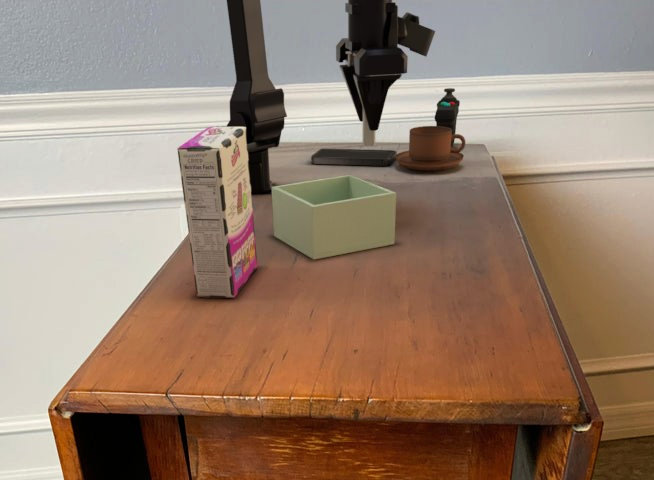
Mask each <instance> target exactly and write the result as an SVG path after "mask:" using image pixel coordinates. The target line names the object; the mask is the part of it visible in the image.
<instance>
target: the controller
mask: <svg viewBox="0 0 654 480" xmlns="http://www.w3.org/2000/svg"><path fill="white" fill-rule="evenodd" d="M455 91H456V89H455V88H451V87H448V88H444V89H443V92H444V93H446V94H445V95H444V96H443V97H442V98H441V99H440V100H439V101H438V102H437V103H436V111H435V115H434V121H435V122H436V124H435V126H442V127H448V128H451V129H452V135H454V134H456V132H457V131H456V129H457V119H458V114H459V111H460V109H459V108H460V106H461V105H460V104H461V103H460V102H461V101H460V100H459V99H458V98H457V97H456V96H455V95H454V94H453V93H455ZM455 140H456V138H455V139H453V140H451V147H452V148H453V147H454V146H455Z"/></svg>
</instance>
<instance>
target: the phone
mask: <svg viewBox="0 0 654 480" xmlns="http://www.w3.org/2000/svg"><path fill="white" fill-rule="evenodd" d="M397 154H398V151H397V150H393V149H358V148H357V149H354V148H320V149H318V150H317V151H316V152H315V153H313V154H312V155H311V156H310V157H311V159H310V160H311V164H315V165H345V166H346V165H347V166H351V165H352V166H377V167H386V166H390V165H392V164H393V163H394V162H395V161H396V158H395V156H396V155H397Z"/></svg>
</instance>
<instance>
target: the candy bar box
mask: <svg viewBox="0 0 654 480" xmlns="http://www.w3.org/2000/svg"><path fill="white" fill-rule="evenodd" d="M176 149H177V157H178V163H179V169H180V170H179V173H180V180H181V187H182V195H183V202H184V203H183V204H184V209H185V216H186V224H187V230H188V231H187V233H188V239H189V246H190V253H191V261H192V262H191V263H192V270H193V278H194V286H195V292H196V296H197V297H199V298H206V299H207V298H214V299H215V298H216V299H235V298H236V297H237V295H238V294H239V292H240V291H241V290H242V289H243V287H244V286H245V284H246V283H247V281H248V280H249V278H250V277H251V276H252V274H254V272H255V270H256V269H257V268H258V256H257V246H256V244H257V243H256V234H255V233H256V232H255V223H254V221H255V220H254V210H253V209H254V208H253V199H252V198H253V197H252V193H251V183H250V172H249V159H248V148H247V136H246V127H237V126H233V127H230V126H227V125H226V126H217V125H216V126H209V127H206V128H205V129H203V130H201V132H199V133H197V134H196V135H194V136H193V137H191V138H190V139H188V140H187V141H186V142H184V143H182V144H181V145H180V146H178V147H177V148H176Z"/></svg>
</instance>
